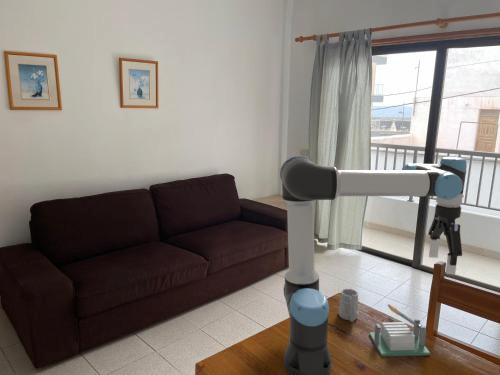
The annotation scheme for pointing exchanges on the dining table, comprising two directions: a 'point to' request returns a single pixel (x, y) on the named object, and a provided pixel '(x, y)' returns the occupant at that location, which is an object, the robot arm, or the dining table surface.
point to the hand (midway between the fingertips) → (441, 265)
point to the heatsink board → (399, 339)
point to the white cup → (349, 304)
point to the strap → (404, 316)
